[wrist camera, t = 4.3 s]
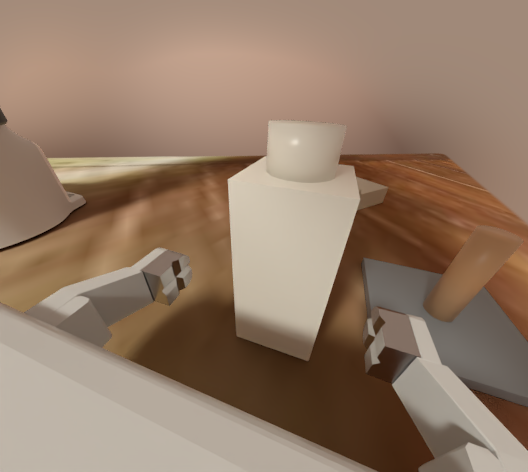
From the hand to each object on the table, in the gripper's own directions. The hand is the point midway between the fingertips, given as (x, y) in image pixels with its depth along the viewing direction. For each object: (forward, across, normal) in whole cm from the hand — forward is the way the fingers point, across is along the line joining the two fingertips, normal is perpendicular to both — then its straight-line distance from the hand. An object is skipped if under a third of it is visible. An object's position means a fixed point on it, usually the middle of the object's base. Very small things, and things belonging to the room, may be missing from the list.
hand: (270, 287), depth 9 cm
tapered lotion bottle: (+4, 0, +7) cm, 8 cm away
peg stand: (+8, -12, +7) cm, 16 cm away
